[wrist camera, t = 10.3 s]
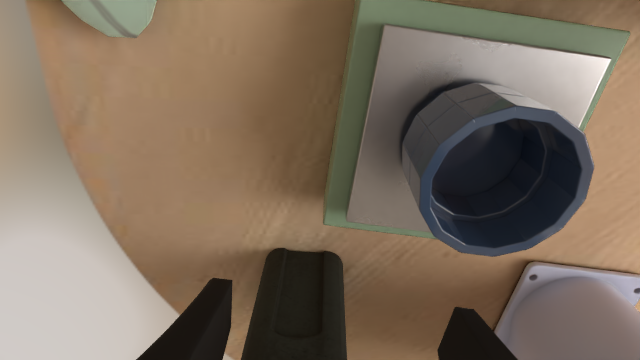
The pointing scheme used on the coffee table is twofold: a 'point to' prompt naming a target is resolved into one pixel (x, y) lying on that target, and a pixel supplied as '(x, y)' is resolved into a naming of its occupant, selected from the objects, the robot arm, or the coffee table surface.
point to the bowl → (495, 169)
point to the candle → (298, 309)
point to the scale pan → (440, 76)
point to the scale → (413, 11)
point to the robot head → (114, 15)
